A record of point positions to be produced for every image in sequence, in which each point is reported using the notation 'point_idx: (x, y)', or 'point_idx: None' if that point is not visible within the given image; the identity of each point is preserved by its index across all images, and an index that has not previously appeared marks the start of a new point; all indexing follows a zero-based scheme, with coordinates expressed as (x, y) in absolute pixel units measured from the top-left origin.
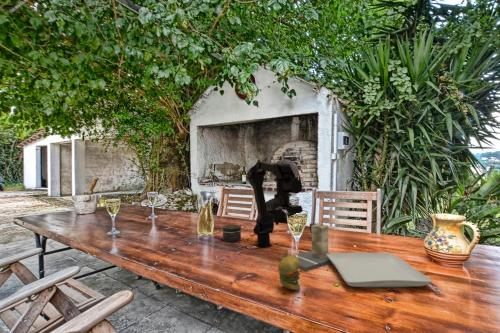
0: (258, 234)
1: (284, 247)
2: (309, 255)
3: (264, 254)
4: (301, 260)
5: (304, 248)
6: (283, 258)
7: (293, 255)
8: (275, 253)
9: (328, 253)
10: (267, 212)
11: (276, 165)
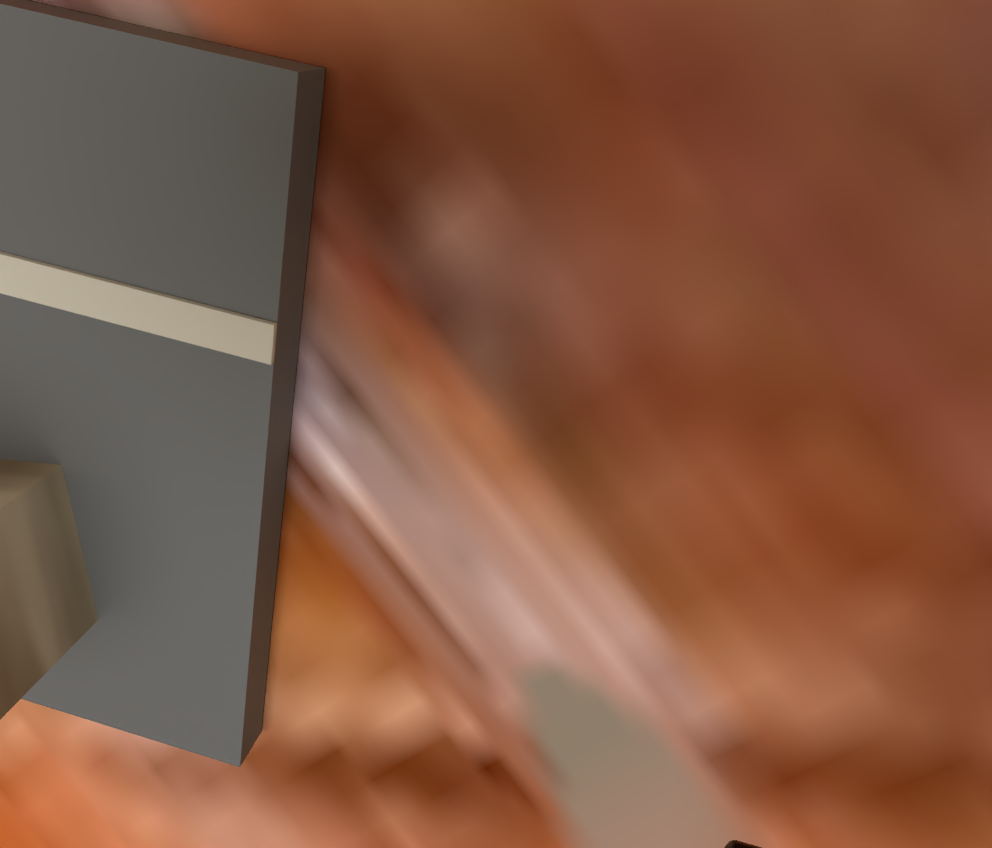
0: None
1: (791, 708)
2: (112, 482)
3: (904, 155)
4: (17, 195)
5: (495, 801)
6: (303, 73)
7: (269, 323)
8: (736, 353)
9: None
10: None
11: None
